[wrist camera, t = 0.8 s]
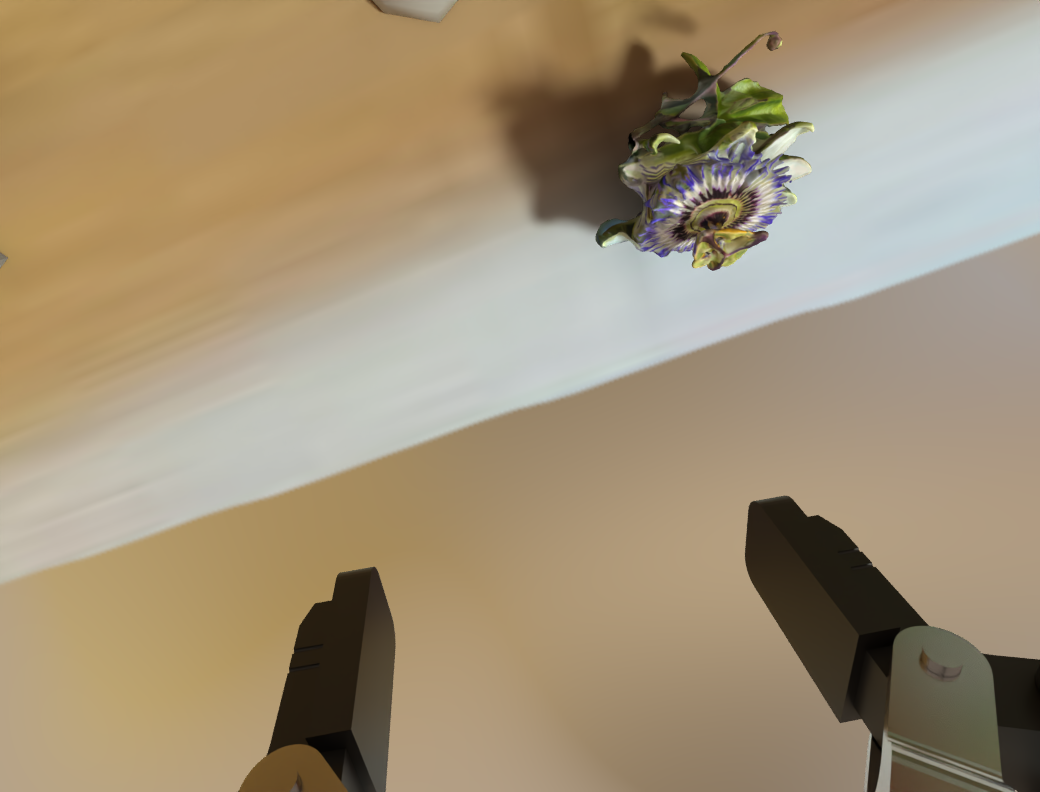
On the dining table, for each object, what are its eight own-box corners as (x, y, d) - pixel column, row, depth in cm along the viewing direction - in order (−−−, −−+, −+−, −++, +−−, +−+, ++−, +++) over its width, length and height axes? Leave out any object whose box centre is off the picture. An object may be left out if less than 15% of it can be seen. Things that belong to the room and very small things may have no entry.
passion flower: (638, 217, 44) (594, 300, 36) (617, 49, 38) (556, 102, 29) (811, 201, 39) (807, 293, 31) (819, 7, 33) (816, 55, 25)
